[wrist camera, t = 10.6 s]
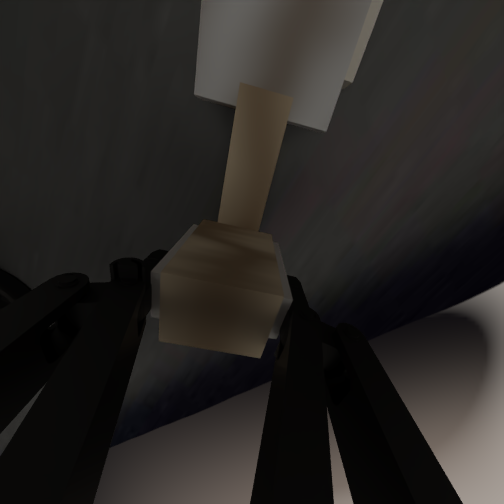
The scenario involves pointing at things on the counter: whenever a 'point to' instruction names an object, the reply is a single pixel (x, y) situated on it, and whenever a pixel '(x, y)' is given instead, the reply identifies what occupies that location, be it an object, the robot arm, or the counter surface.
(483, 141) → the counter surface
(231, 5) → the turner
